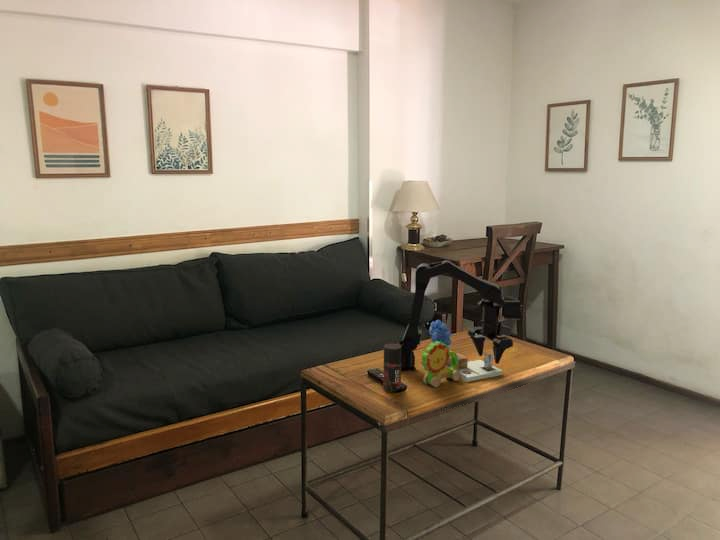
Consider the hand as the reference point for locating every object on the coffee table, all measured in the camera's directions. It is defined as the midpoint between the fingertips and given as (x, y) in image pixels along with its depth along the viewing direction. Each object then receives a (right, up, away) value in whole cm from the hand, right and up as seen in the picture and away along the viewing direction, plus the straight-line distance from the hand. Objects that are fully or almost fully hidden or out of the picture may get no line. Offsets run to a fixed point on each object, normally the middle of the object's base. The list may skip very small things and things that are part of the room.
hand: (488, 359), depth 212 cm
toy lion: (-19, -7, -9) cm, 22 cm away
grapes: (-15, 0, +27) cm, 31 cm away
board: (-5, -5, +1) cm, 7 cm away
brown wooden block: (-12, -3, +2) cm, 12 cm away
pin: (0, -5, +1) cm, 5 cm away
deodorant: (-36, -8, -14) cm, 40 cm away
